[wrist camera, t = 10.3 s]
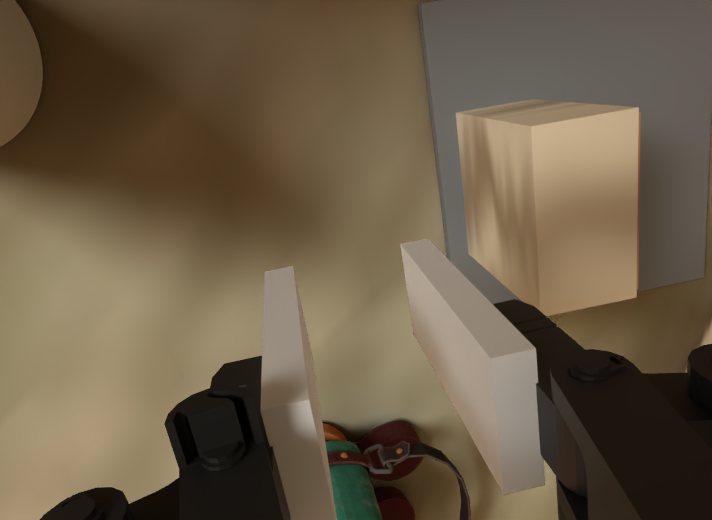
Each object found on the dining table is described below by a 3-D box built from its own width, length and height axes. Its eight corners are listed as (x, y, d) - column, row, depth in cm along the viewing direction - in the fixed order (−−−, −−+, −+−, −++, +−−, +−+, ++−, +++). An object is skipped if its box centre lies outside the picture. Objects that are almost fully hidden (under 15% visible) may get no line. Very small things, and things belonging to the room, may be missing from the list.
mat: (417, 4, 25) (420, 3, 24) (708, -44, 26) (718, -47, 26) (455, 326, 30) (458, 331, 30) (696, 273, 31) (704, 277, 31)
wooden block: (455, 112, 26) (531, 126, 18) (537, 98, 26) (644, 106, 19) (468, 254, 28) (540, 317, 21) (543, 239, 29) (641, 296, 21)
